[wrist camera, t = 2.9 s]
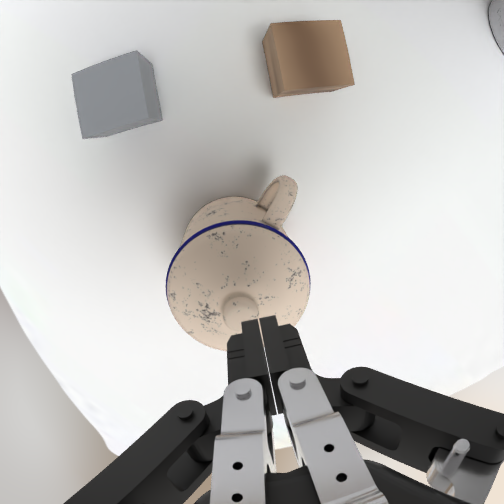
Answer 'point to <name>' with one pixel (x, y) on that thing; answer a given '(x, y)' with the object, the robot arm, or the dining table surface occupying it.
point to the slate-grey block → (116, 96)
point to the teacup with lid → (238, 267)
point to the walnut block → (307, 57)
